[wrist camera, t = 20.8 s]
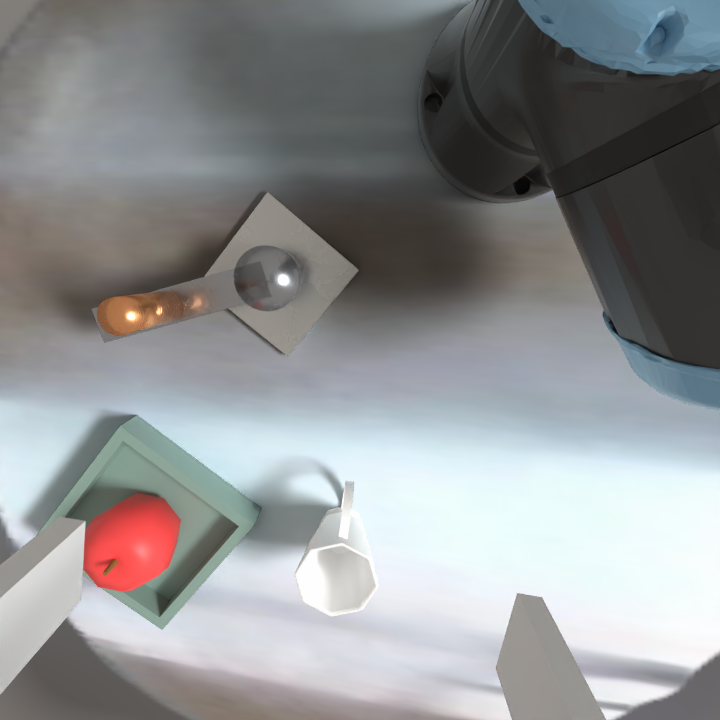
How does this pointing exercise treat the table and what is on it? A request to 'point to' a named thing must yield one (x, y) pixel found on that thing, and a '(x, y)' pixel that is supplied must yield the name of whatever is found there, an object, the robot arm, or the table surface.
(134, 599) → the tray
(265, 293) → the crank
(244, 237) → the crank post
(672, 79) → the robot arm
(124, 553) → the apple
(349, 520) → the cup
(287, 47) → the table surface
